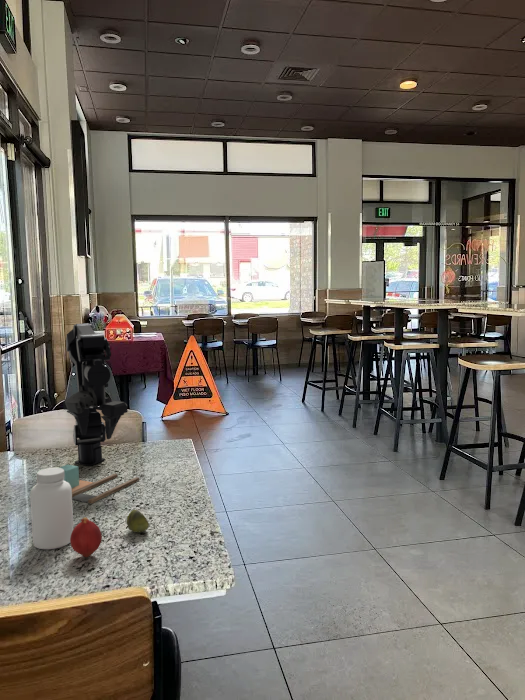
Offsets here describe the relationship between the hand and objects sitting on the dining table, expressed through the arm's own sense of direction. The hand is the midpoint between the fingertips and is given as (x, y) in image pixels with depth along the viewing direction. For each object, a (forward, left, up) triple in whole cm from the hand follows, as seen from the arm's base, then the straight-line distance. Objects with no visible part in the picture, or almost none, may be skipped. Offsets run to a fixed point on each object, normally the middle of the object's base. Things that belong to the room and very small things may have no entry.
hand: (96, 436), depth 153 cm
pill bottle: (+19, -34, -12) cm, 41 cm away
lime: (+32, -23, -12) cm, 41 cm away
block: (-1, -10, -11) cm, 15 cm away
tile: (-1, -9, -12) cm, 15 cm away
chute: (+7, -6, -12) cm, 15 cm away
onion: (+30, -36, -12) cm, 48 cm away
